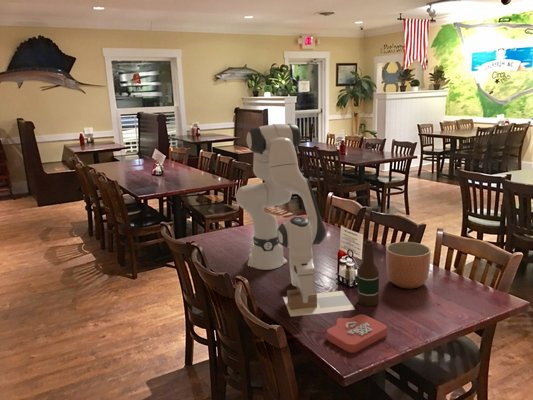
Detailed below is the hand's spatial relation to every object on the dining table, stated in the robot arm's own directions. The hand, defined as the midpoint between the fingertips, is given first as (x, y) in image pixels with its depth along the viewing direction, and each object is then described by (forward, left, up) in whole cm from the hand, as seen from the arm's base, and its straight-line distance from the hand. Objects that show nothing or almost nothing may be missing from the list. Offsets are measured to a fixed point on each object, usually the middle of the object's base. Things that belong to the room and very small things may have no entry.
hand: (302, 296), depth 169 cm
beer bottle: (+2, +25, -5) cm, 25 cm away
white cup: (-19, +3, -5) cm, 20 cm away
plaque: (+22, +12, -5) cm, 26 cm away
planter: (-10, +46, -5) cm, 47 cm away
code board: (0, +6, -4) cm, 7 cm away
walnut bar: (0, 0, -4) cm, 4 cm away
